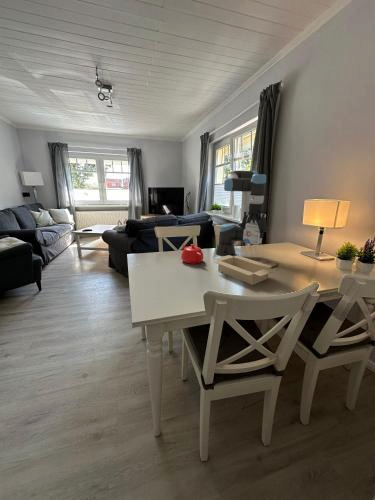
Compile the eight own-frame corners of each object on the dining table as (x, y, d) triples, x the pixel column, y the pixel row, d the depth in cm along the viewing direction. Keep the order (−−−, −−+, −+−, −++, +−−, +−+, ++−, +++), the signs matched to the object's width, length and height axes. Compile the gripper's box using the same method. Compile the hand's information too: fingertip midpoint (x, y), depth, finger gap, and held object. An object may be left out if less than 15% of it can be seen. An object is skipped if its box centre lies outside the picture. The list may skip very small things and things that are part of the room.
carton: (208, 270, 132) (209, 260, 130) (232, 263, 145) (232, 253, 144) (254, 289, 108) (255, 278, 106) (277, 279, 121) (278, 268, 119)
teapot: (211, 264, 142) (212, 247, 138) (191, 268, 134) (192, 250, 130) (191, 254, 162) (191, 239, 159) (173, 257, 154) (173, 241, 151)
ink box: (243, 243, 127) (245, 223, 123) (245, 241, 131) (247, 222, 128) (258, 245, 123) (260, 225, 119) (259, 243, 127) (262, 223, 124)
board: (248, 263, 145) (248, 262, 144) (260, 260, 153) (260, 258, 153) (266, 270, 134) (267, 268, 134) (278, 265, 143) (278, 263, 142)
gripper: (236, 201, 126) (233, 238, 133) (269, 205, 109) (264, 246, 116) (244, 201, 131) (241, 236, 137) (277, 204, 114) (272, 244, 121)
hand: (251, 241), depth 127 cm, fingers closed on ink box, 10 cm apart
